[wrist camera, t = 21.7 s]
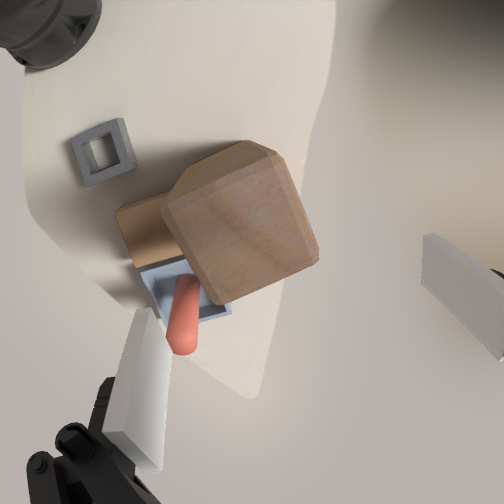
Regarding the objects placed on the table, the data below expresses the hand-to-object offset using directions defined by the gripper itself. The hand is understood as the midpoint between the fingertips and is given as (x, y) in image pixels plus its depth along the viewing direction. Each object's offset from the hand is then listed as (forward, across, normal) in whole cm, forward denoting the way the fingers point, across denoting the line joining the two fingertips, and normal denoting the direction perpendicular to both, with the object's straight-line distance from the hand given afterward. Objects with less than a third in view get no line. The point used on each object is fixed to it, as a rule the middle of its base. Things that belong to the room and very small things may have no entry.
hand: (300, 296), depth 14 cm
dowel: (+29, -11, -13) cm, 34 cm away
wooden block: (+30, -2, -1) cm, 30 cm away
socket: (+30, -17, +8) cm, 36 cm away
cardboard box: (+31, -12, -3) cm, 33 cm away
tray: (+30, -11, -13) cm, 35 cm away
